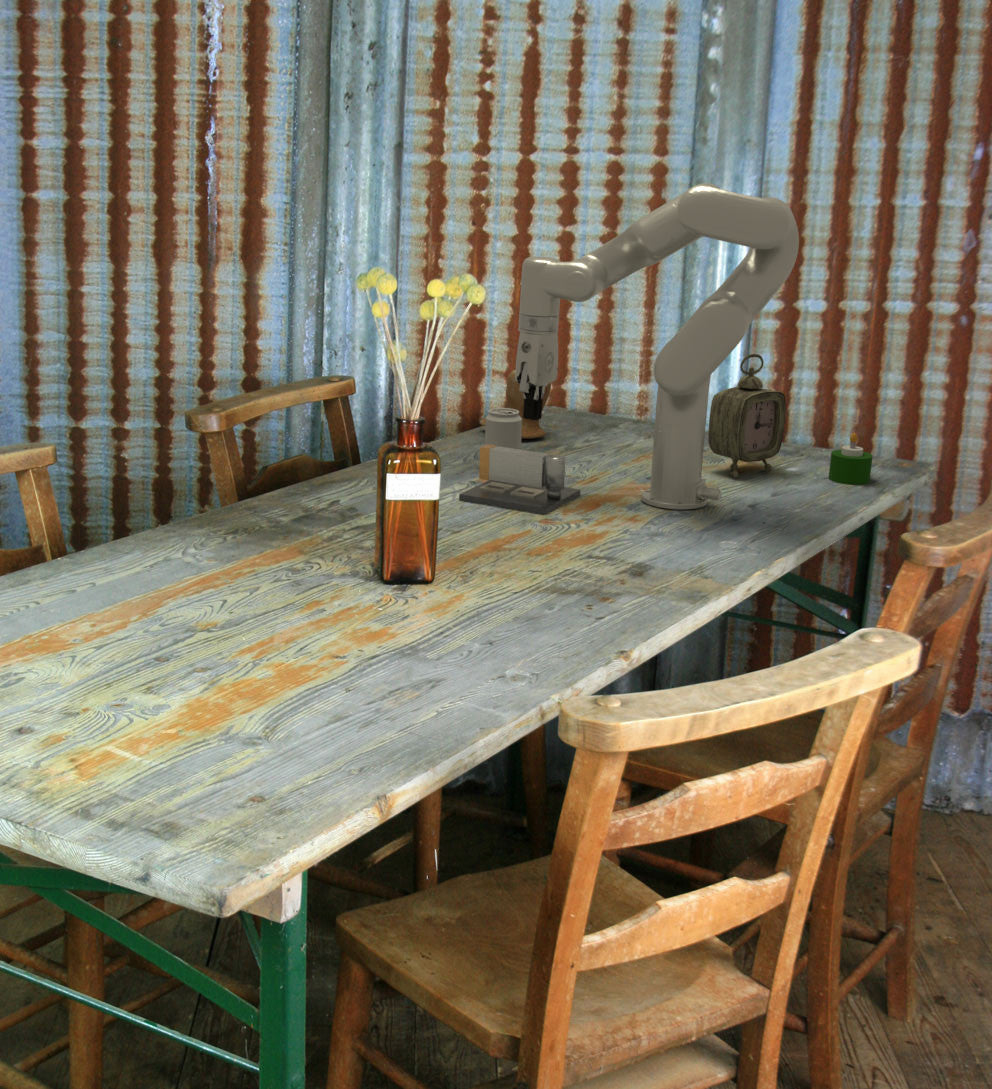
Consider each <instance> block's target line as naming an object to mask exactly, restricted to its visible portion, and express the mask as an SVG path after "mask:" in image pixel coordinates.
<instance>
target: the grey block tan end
mask: <svg viewBox="0 0 992 1089" xmlns="http://www.w3.org/2000/svg"><path fill="white" fill-rule="evenodd" d="M478 465H479V470H478V471H479V472H478V479H479V480H484V481H489V480H494V481H500V482H506V483H512V484H519V485H525V486H531V487H537V488H543V487H545V488H546V489H548V490H563V489H564V487H565V477H566V475H565V474H566V456H565V455H561V454H550V453H545V452H541V451H540V452H539V451H533V450H527V449H526V450H525V449H521V450H519V449H513V448H506V447H499V446H497V445H490V444H487V445H485V444H484V445H482V446H479V464H478Z"/></svg>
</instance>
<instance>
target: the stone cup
mask: <svg viewBox="0 0 992 1089" xmlns="http://www.w3.org/2000/svg"><path fill="white" fill-rule="evenodd" d="M529 382H530V381H529ZM519 388H520V384H518V383H517V382H516V380H515V369H513V370H512V371H511V372H510V373H509V374H508V377H507V381H506V390H505V396H506V397H505V398H506V408H510V409H515V410H518V411H519V416H520V417H521V418H522V435H521V439H522V440H523V439H526V440H528V439H529V440H531V439H536V438H542V437H544V436H546V431H545V430H544V429H543V428H542V427H541V425H540V419H539V420H537V421H536V420H529V419H524V418H523V410H524V398H523V392H520V391H519ZM551 389H552V382H551V383H549V384H548V385H547V386H546V387H545V391H544V397H543V403H542V411H543V410H544V407H545V405H546V403H547V402H548V399H549V396H550V393H551ZM480 425H482V426H483V427H484V428H485V427H486V417H485V418H483V419H481V421H480Z"/></svg>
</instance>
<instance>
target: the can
mask: <svg viewBox="0 0 992 1089" xmlns="http://www.w3.org/2000/svg"><path fill="white" fill-rule="evenodd" d="M488 412H489V413H488V414H487V416H486V417H485V418H486V427H485V426H484V428H485V433H484V435H485V436H484V445H487V444H490V445H497V446H499V447H506V448H513V449H519V450H522V438H521V435H522V418H521V417H520V416H519V411H518V410H515V409H510V408H507V407H496V408H491V409H489V410H488Z"/></svg>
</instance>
